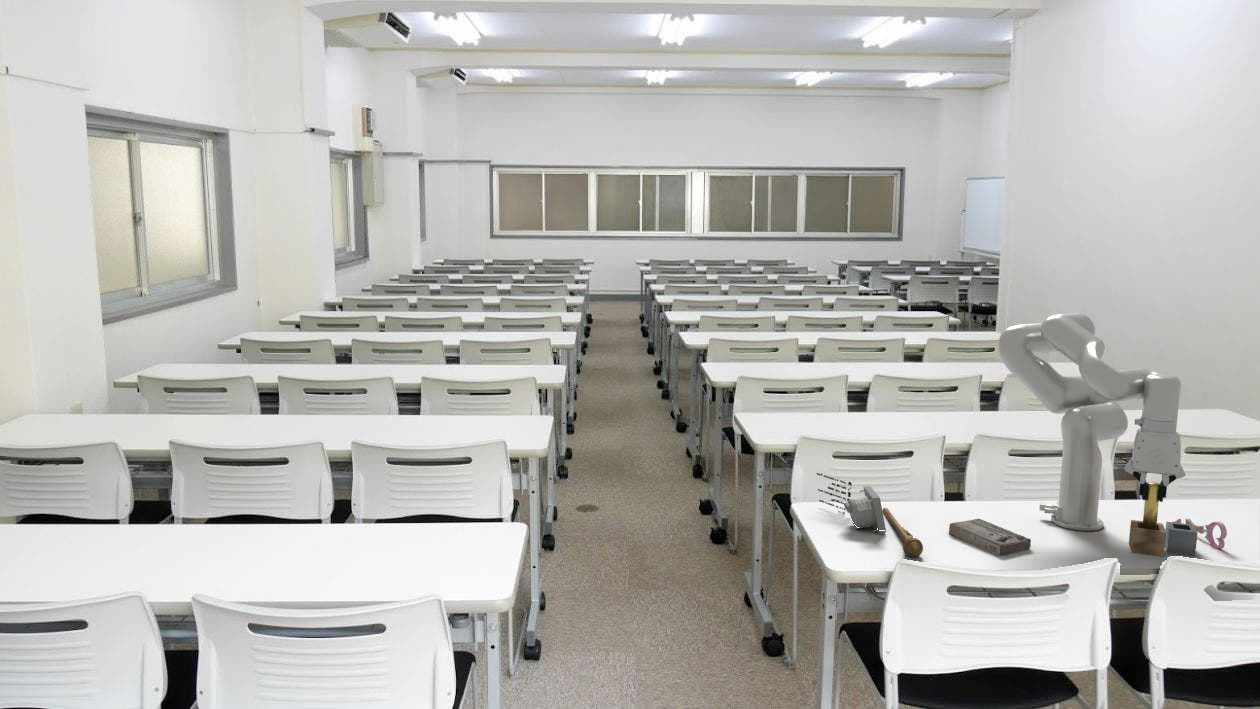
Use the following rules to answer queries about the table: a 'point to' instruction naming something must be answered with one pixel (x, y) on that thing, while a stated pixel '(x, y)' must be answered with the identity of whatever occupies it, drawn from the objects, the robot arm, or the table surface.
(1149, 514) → the brass bar
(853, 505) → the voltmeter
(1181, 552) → the socket block
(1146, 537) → the brown open box
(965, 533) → the box
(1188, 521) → the decorative key
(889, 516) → the brown rod with knob
